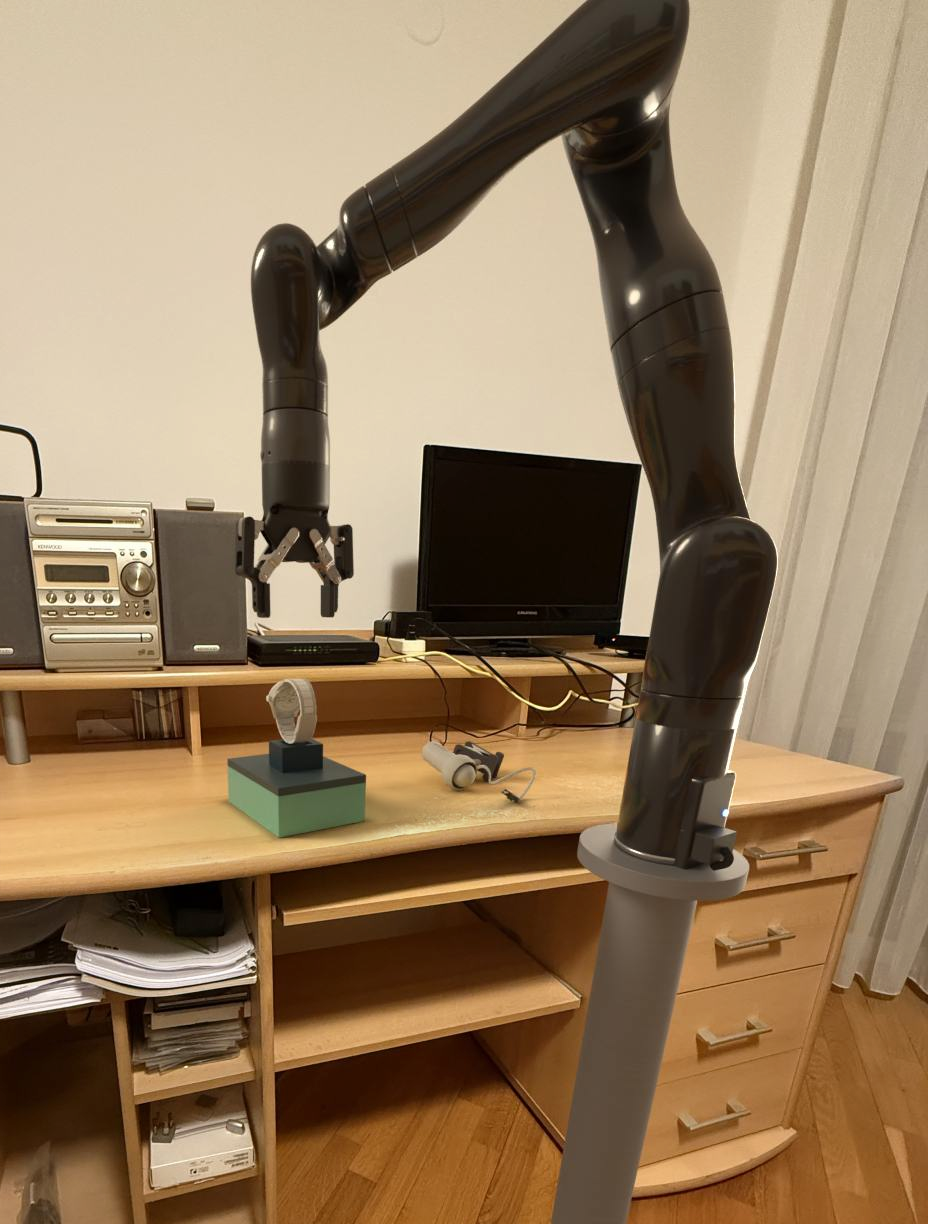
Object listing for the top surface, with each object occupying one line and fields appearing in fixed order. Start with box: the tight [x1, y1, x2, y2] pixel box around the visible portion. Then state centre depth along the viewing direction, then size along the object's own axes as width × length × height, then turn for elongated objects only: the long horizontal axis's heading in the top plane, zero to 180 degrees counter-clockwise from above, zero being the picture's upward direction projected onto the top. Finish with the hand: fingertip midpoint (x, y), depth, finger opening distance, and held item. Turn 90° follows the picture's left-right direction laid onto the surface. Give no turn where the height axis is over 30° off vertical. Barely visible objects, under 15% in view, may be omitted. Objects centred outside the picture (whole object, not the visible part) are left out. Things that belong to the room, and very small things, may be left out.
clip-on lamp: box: [421, 740, 536, 803], centre depth 92 cm, size 12×6×18 cm
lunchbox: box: [226, 753, 367, 839], centre depth 81 cm, size 15×12×6 cm
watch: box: [265, 677, 324, 773], centre depth 78 cm, size 6×8×11 cm
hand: (296, 617), depth 74 cm, fingers open, 8 cm apart
